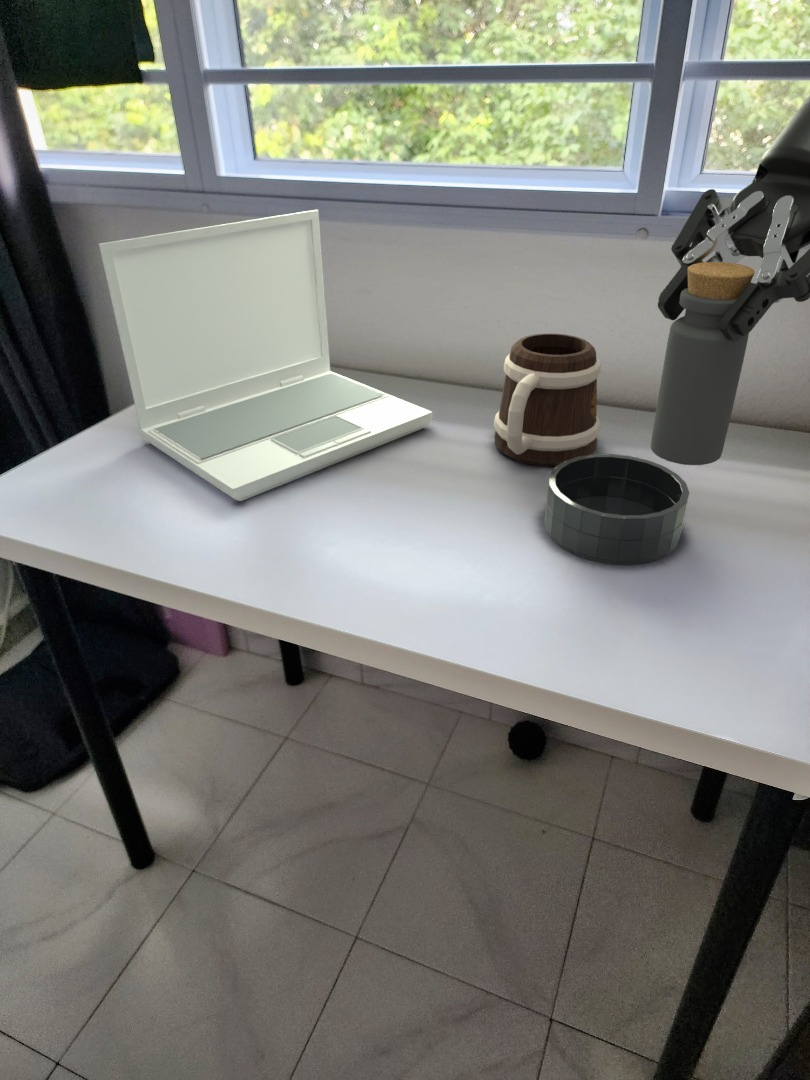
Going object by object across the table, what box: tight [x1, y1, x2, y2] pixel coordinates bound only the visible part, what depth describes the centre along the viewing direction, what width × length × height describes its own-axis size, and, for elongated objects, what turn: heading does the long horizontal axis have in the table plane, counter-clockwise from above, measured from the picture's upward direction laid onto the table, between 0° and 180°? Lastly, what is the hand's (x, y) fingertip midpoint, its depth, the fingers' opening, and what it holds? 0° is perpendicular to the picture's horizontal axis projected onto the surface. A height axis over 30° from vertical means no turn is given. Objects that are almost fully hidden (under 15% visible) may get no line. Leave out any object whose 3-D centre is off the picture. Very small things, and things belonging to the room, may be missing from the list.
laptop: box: [98, 209, 434, 502], centre depth 106 cm, size 35×26×28 cm
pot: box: [544, 453, 690, 566], centre depth 88 cm, size 16×16×6 cm
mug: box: [493, 333, 602, 467], centre depth 103 cm, size 20×15×15 cm
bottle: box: [650, 261, 756, 466], centre depth 60 cm, size 6×6×15 cm
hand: (695, 322), depth 57 cm, fingers closed on bottle, 5 cm apart
